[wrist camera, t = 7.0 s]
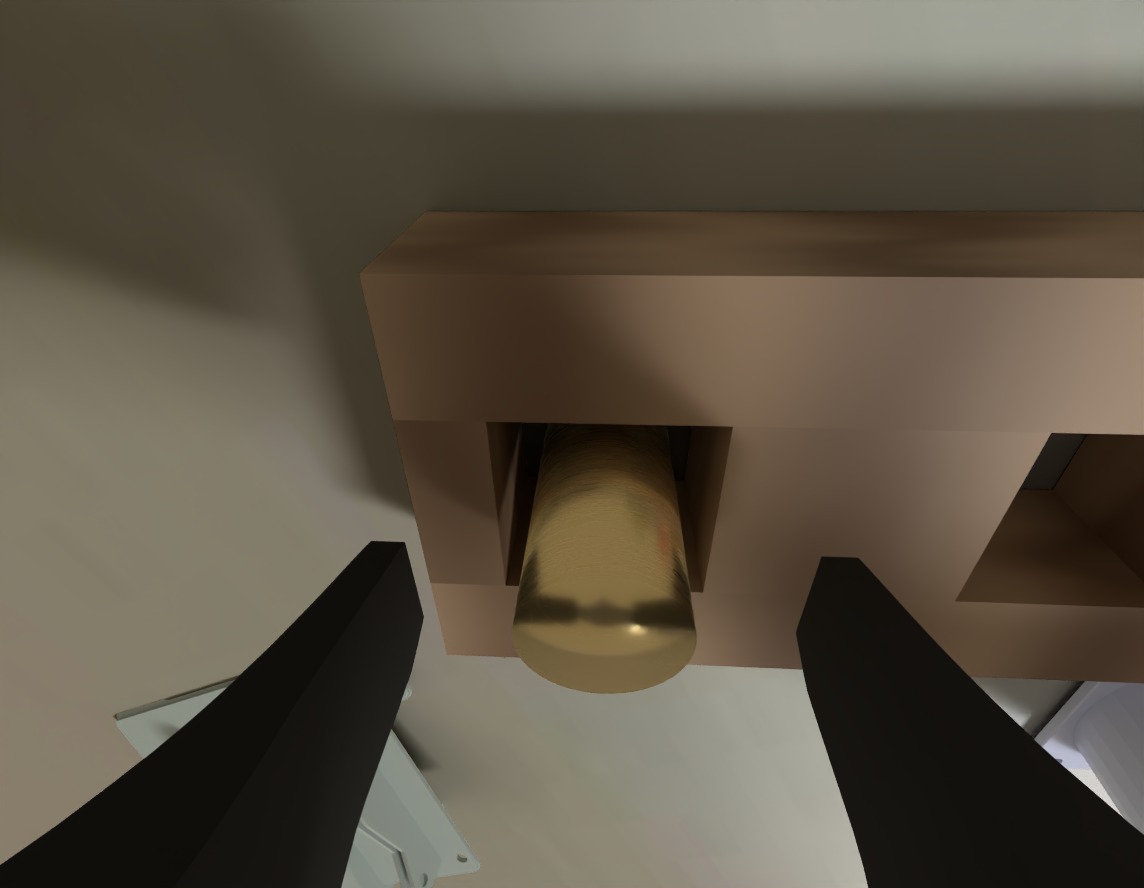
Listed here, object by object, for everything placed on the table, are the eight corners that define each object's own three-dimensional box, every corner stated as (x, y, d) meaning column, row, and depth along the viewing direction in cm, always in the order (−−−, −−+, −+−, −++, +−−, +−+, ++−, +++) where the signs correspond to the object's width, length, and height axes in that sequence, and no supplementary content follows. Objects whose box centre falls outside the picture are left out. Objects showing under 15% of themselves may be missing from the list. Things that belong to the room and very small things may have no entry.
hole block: (1317, 211, 11) (1604, 281, 8) (1070, 562, 17) (1178, 684, 14) (426, 211, 12) (358, 273, 9) (476, 543, 18) (447, 654, 15)
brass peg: (668, 362, 14) (706, 581, 8) (660, 459, 16) (687, 697, 10) (547, 361, 14) (503, 575, 8) (551, 457, 16) (518, 689, 10)
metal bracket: (518, 926, 23) (250, 954, 27) (550, 793, 28) (321, 835, 33) (328, 643, 19) (58, 729, 24) (406, 553, 25) (173, 637, 29)
